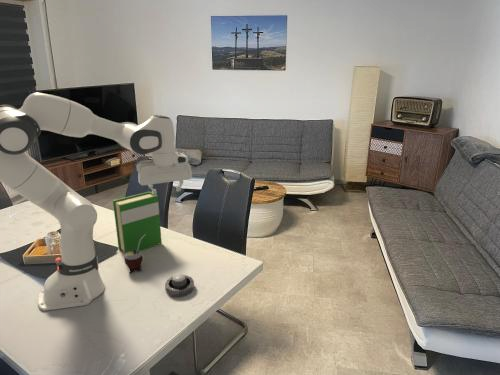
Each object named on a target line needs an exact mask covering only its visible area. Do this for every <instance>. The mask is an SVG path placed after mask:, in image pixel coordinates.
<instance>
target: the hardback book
mask: <svg viewBox="0 0 500 375" xmlns="http://www.w3.org/2000/svg"><path fill="white" fill-rule="evenodd" d="M112 204H113V212H114V213H113V214H114V221H115V230H116V238H117V245H118V250H119V251H123V252H124V255H125V254H126V253H127V252H128V251H129V250H133V249H136V250H137V248H138V244H139V240H140V239H141V237H143V236H144V235H145V234H146V235H145V236H144V237H143V238H142V240H141V243H140V245H139V249H138V250H139V251H140V252H141V251H144V250H147V249H150V248H152V247H155V246H158V245H160V244H161V245H162V242H163V241H162V233H161V232H162V230H161V219H160V218H161V217H160V208H159V207H160V205H159V196H158V194H156V195H153V194H152V191H151V190H150V191H145V192H142V193H137V194H133V195H129V196H125V197H121V198H117V199H114V200H112Z"/></svg>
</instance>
